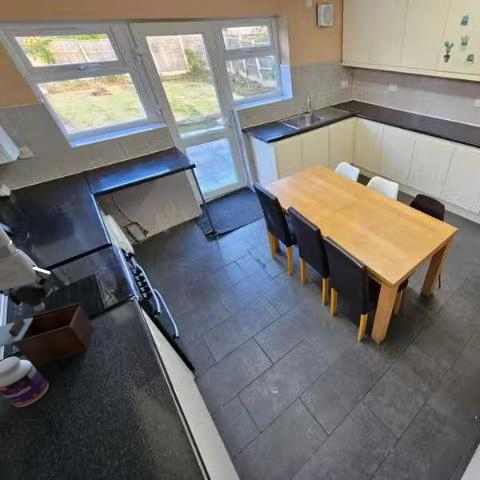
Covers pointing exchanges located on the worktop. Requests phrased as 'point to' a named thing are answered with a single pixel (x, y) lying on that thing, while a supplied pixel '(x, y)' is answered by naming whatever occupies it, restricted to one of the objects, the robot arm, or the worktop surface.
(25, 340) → the display box
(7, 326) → the glass lid
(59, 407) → the worktop surface
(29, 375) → the pill bottle
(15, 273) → the robot arm
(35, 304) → the light bulb
